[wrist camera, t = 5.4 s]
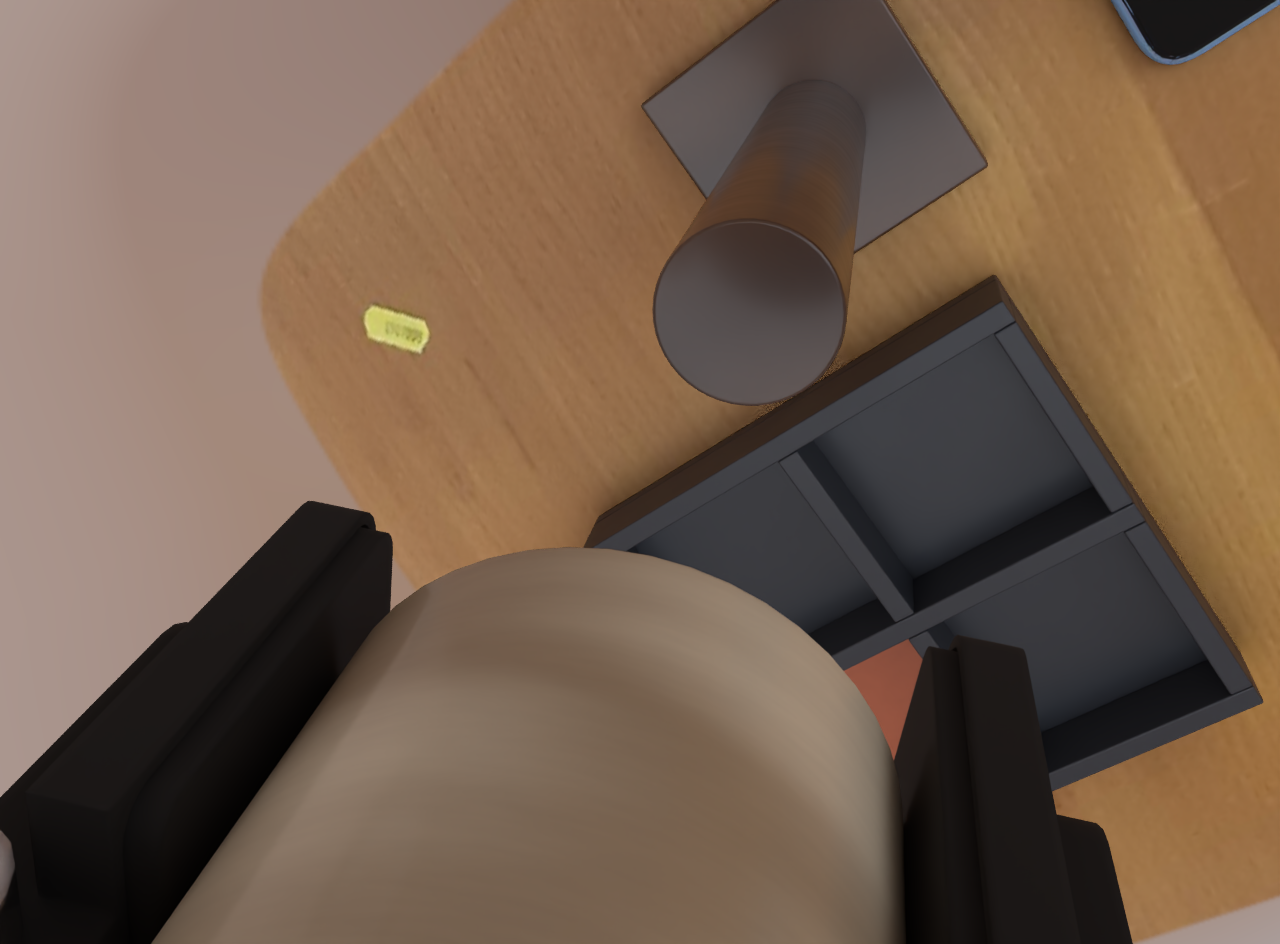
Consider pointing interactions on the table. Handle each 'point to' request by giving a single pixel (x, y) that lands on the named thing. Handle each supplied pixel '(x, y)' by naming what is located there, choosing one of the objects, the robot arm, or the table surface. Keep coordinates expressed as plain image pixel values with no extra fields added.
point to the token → (571, 777)
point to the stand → (794, 187)
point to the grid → (956, 538)
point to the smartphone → (1186, 24)
